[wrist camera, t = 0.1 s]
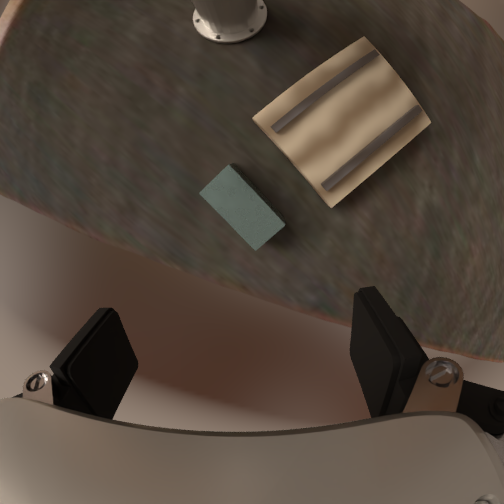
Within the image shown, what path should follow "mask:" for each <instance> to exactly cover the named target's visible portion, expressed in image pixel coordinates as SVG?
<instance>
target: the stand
mask: <svg viewBox="0 0 504 504" xmlns="http://www.w3.org/2000/svg"><path fill="white" fill-rule="evenodd" d="M253 121H254V122H255V123H256V124H257V125H258V126H259V127H260V129H261V130H262V131H263V132H264V133H265V134H266V135H267V136H268V137H269V138H270V139H271V140H272V141H273V142H274V144H275V145H276V146H277V147H278V148H279V149H280V150H281V151H282V152H283V153H284V155H285V156H286V157H287V158H288V159H289V160H290V161H291V162H292V164H293V165H294V166H295V167H296V168H297V169H298V171H299V172H300V173H301V174H302V175H303V176H304V178H305V179H306V180H307V181H308V182H309V183H310V185H311V186H312V187H313V188H314V189H315V191H316V192H317V193H318V194H319V196H320V197H321V198H322V199H323V200H324V202H325V203H326V204H327V205H328V206H330V207H331V208H332V207H333V206H334V205H336V204H337V203H338V202H339V201H340V200H342V199H343V198H344V197H345V196H346V195H348V194H349V193H350V192H351V191H352V190H354V189H355V188H356V187H357V186H358V185H359V184H361V183H362V182H363V181H364V180H365V179H367V178H368V177H369V176H370V175H371V174H372V173H374V172H375V171H376V170H377V169H378V168H379V167H381V166H382V165H383V164H384V163H385V162H386V161H388V160H389V159H390V158H391V157H392V156H393V155H395V154H396V153H397V152H398V151H399V150H400V149H402V148H403V147H404V146H405V145H406V144H407V143H408V142H410V141H411V140H412V139H413V138H414V137H415V136H416V135H418V134H419V133H420V132H421V131H422V130H423V129H424V128H426V127H427V126H428V125H429V124H430V123H431V121H430V119H429V118H428V116H427V115H426V113H425V112H424V110H423V109H422V107H421V106H420V104H419V103H418V101H417V100H416V98H415V97H414V96H413V94H412V93H411V91H410V90H409V89H408V87H407V86H406V85H405V83H404V82H403V81H402V79H401V78H400V77H399V75H398V74H397V73H396V72H395V70H394V69H393V68H392V67H391V66H390V64H389V63H388V62H387V61H386V60H385V58H384V57H383V56H382V55H381V54H380V53H379V52H378V50H377V49H376V48H375V47H374V46H373V45H372V44H371V43H370V42H369V41H368V40H367V39H366V38H365V37H362V38H361V39H359V40H357V41H356V42H354V43H353V44H351V45H349V46H348V47H346V48H345V49H343V50H342V51H340V52H339V53H337V54H336V55H334V56H333V57H331V58H330V59H328V60H327V61H325V62H324V63H323V64H321V65H320V66H318V67H317V68H316V69H314V70H313V71H311V72H310V73H309V74H307V75H306V76H305V77H303V78H302V79H300V80H299V81H298V82H296V83H295V84H294V85H293V86H291V87H290V88H289V89H287V90H286V91H285V92H283V93H282V94H281V95H280V96H278V97H277V98H276V99H275V100H273V101H272V102H271V103H270V104H268V105H267V106H266V107H265V108H264V109H262V110H261V111H260V112H259V113H258V114H256V115H255V116H254V117H253Z"/></svg>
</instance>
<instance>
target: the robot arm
mask: <svg viewBox="0 0 504 504" xmlns="http://www.w3.org/2000/svg"><path fill="white" fill-rule="evenodd" d="M192 2H193V4H194V6H195V8H196V9H195V11H194V14H193V23H194V26H195V28H196V30H197V31H198V32H199V34H200V35H202V36H203V37H204V38H206V39H208V40H210V41H213V42H216V43H237V42H241V41H244V40H246V39H249V38H251V37H252V36H254V35H256V34H257V33H258V32H259V31H260V30H261V29H262V28H263V26H264V25H265V22H266V19H267V8H266V5H265V3H264V2H263V0H192ZM198 22H199V23H198ZM251 31H253V32H251ZM218 38H220V39H218ZM350 356H351V360H352V362H353V365H354V368H355V371H356V373H357V376H358V379H359V382H360V384H361V388H362V391H363V394H364V397H365V400H366V403H367V406H368V409H369V412H370V415H371V418H369V419H363V420H358V421H352V422H346V423H340V424H334V425H327V426H319V427H310V428H301V429H290V430H278V431H258V432H214V431H193V430H181V429H169V428H161V427H153V426H146V425H139V424H133V423H127V422H122V421H116V420H112V419H113V417H114V414H115V412H116V410H117V408H118V406H119V404H120V402H121V400H122V398H123V396H124V394H125V392H126V390H127V388H128V386H129V384H130V382H131V380H132V378H133V376H134V374H135V372H136V370H137V368H138V360H137V358H136V356H135V354H134V351H133V349H132V347H131V345H130V342H129V340H128V337H127V335H126V333H125V330H124V328H123V325H122V323H121V320H120V317H119V315H118V313H117V312H116V311H115V310H114V309H113V308H99V309H98V310H97V311H96V312H95V313H94V315H93V316H92V317H91V318H90V319H89V320H88V321H87V323H86V324H85V325H84V326H83V327H82V328H81V329H80V331H79V332H78V333H77V334H76V335H75V336H74V337H73V338H72V340H71V341H70V342H69V343H68V344H67V346H66V347H65V348H64V349H63V350H62V351H61V353H60V354H59V355H58V356H57V358H56V359H55V360H54V361H53V362H52V364H51V365H50V368H51V370H52V371H53V373H54V374H53V376H51V374H50V373H49V372H48V371H45V370H40V371H37V372H35V373H32V374H31V375H30V376H29V377H28V378H27V379H26V380H25V382H24V385H23V393H21V394H19V395H16V396H14V397H12V398H4V399H1V400H0V504H504V391H501V390H497V389H494V388H490V387H486V386H483V385H479V384H476V383H472V382H469V381H465V380H463V378H464V377H463V376H464V374H463V370H462V368H461V367H460V366H459V364H458V363H456V362H455V361H453V360H451V359H449V358H444V357H436V358H432V359H430V360H429V359H428V357H427V355H426V354H425V352H424V351H423V349H422V348H421V346H420V345H419V343H418V342H417V340H416V339H415V337H414V336H413V334H412V333H411V332H410V330H409V329H408V327H407V326H406V324H405V323H404V322H403V320H402V319H401V318H400V317H397V316H396V315H395V313H394V312H393V311H392V309H391V308H390V306H389V305H388V304H387V302H386V301H385V299H384V298H383V297H382V295H381V294H380V293H379V291H378V290H377V289H376V287H375V286H371V287H364V288H360V289H359V291H358V292H357V293H355V294H354V304H353V319H352V331H351V342H350Z"/></svg>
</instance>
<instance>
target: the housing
mask: <svg viewBox="0 0 504 504" xmlns="http://www.w3.org/2000/svg"><path fill="white" fill-rule="evenodd" d="M199 194H200V195H201V196H202V197H203V198H204V199H205V200H206V201H207V202H208V203H209V204H210V205H211V206H212V207H213V208H214V209H215V210H216V211H217V212H218V213H219V214H220V215H221V216H222V217H223V218H224V219H225V220H226V221H227V222H228V223H229V224H230V225H231V226H232V227H233V228H234V229H235V230H236V231H237V232H238V234H239V235H240V236H241V237H242V238H243V239H244V240H245V241H246V242H247V243H248V244H249V245H250V246H251V247H252V248H253V249H254V250H255V251H256V250H257V249H258V248H259V247H261V246H262V245H263V244H264V243H265V242H266V241H268V240H269V239H270V238H271V237H272V236H273V235H275V234H276V233H277V232H278V231H279V230H280V229H281V228H283V227H284V226H285V221H284V218H283V216H282V214H281V213H280V212H279V211H278V210H277V209H276V208H275V207H274V206H273V205H272V204H271V202H270V201H269V200H268V199H267V198H266V197H265V196H264V195H263V194H262V193H261V192H260V191H259V190H258V189H257V187H256V186H255V185H254V184H253V183H252V182H251V181H250V180H249V179H248V178H247V177H246V176H245V175H244V174H243V173H242V172H241V171H240V170H239V169H238V168H237V166H236V165H235V164H234V163H232V164H229V165H228V166H227V167H226V168H225V169H223V170H222V171H221V172H220V173H219V174H218V175H217V176H216V177H215V178H214V179H213V180H212V181H211V182H210V183H209V184H208V185H207V186H206V187H205V188H204V189H203V190H202V191H201V192H200V193H199Z"/></svg>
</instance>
